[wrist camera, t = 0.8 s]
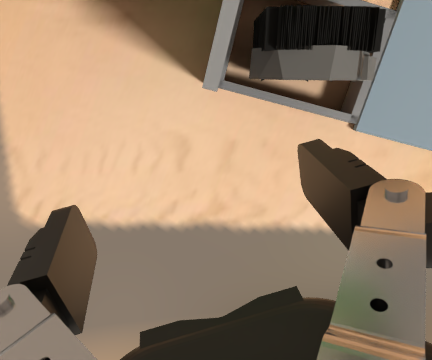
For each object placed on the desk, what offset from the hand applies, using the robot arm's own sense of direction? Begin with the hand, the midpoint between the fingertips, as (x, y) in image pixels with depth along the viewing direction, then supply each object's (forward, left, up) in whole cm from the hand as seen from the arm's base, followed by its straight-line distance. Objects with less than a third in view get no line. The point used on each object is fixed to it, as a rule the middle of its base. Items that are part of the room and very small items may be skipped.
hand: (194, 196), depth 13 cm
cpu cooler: (-9, +8, -26) cm, 28 cm away
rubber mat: (-10, +22, -26) cm, 35 cm away
